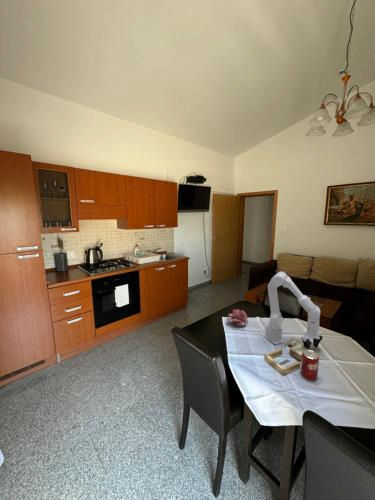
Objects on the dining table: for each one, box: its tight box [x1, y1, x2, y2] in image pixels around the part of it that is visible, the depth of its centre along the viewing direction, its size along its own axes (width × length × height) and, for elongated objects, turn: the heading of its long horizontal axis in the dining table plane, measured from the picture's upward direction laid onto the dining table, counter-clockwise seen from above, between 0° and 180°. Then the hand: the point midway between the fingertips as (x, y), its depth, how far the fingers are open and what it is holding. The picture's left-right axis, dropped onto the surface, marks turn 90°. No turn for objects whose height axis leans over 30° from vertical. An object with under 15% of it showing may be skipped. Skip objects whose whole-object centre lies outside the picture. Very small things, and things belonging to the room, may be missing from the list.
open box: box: [288, 343, 311, 362], centre depth 120 cm, size 7×9×4 cm
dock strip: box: [277, 359, 291, 366], centre depth 115 cm, size 2×9×1 cm, turn 114°
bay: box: [263, 348, 302, 376], centre depth 114 cm, size 13×12×3 cm
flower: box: [226, 309, 249, 328], centre depth 155 cm, size 15×15×10 cm
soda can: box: [300, 349, 320, 381], centre depth 105 cm, size 7×7×12 cm
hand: (311, 348), depth 124 cm, fingers open, 7 cm apart
